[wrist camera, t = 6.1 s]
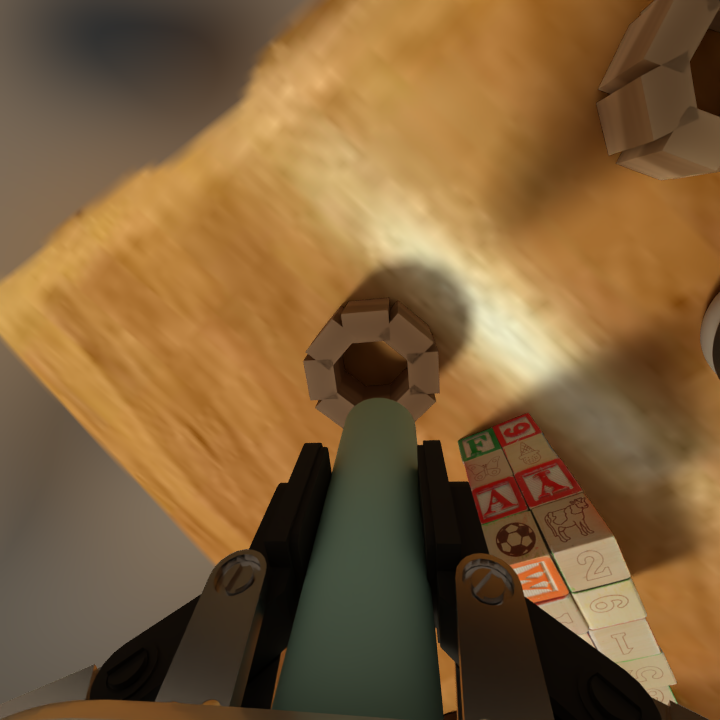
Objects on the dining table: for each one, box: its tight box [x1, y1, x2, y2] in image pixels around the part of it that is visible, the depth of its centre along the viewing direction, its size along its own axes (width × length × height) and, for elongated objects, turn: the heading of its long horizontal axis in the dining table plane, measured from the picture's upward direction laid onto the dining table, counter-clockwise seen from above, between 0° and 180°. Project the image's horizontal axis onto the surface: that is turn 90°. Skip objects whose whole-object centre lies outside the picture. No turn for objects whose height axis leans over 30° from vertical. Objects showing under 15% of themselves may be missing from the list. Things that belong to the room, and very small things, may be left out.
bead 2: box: [596, 0, 720, 180], centre depth 18 cm, size 9×9×4 cm
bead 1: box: [303, 298, 440, 428], centre depth 25 cm, size 9×9×4 cm
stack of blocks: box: [458, 413, 678, 705], centre depth 26 cm, size 21×6×12 cm, turn 30°
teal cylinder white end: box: [271, 398, 444, 720], centre depth 9 cm, size 3×3×13 cm
